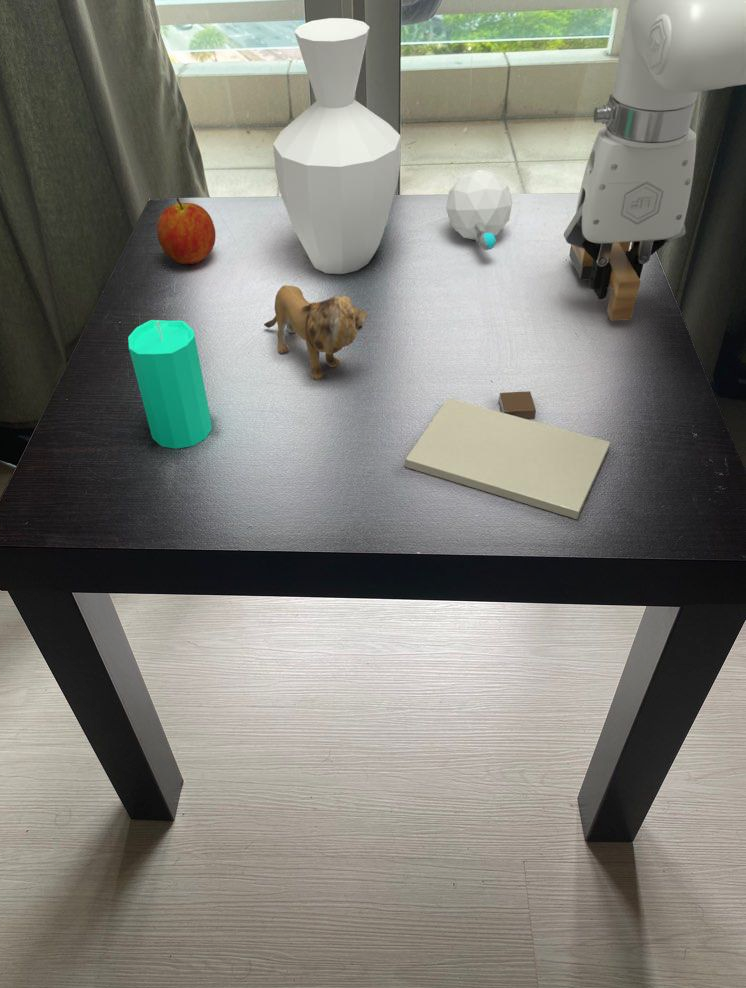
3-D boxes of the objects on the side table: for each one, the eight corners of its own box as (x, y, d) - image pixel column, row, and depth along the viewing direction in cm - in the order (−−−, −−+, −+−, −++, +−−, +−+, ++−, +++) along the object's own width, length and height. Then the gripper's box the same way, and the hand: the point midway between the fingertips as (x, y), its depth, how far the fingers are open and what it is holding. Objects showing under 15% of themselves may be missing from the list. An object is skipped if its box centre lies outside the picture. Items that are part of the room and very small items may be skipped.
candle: (206, 449, 80) (184, 340, 71) (144, 448, 80) (115, 340, 72) (217, 409, 84) (197, 302, 75) (158, 409, 85) (131, 302, 76)
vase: (318, 222, 111) (304, 3, 93) (418, 242, 106) (424, 15, 88) (263, 273, 102) (235, 43, 84) (369, 297, 97) (364, 59, 79)
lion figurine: (375, 373, 87) (374, 295, 81) (338, 396, 85) (334, 317, 78) (282, 320, 95) (274, 245, 88) (245, 340, 92) (235, 264, 86)
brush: (644, 319, 90) (654, 280, 87) (598, 322, 90) (606, 283, 87) (608, 252, 100) (616, 215, 97) (566, 255, 100) (573, 217, 97)
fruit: (225, 247, 107) (216, 185, 101) (211, 275, 102) (201, 211, 96) (172, 245, 108) (160, 183, 102) (156, 273, 103) (142, 210, 97)
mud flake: (534, 418, 81) (536, 410, 80) (503, 419, 81) (504, 411, 80) (529, 399, 83) (530, 391, 83) (498, 400, 83) (499, 392, 83)
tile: (608, 450, 78) (610, 441, 77) (577, 519, 72) (579, 511, 71) (447, 405, 83) (447, 397, 82) (404, 467, 77) (405, 458, 76)
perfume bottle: (515, 188, 107) (538, 245, 100) (460, 227, 111) (478, 284, 104) (485, 143, 102) (507, 199, 95) (428, 185, 105) (445, 242, 98)
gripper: (573, 138, 77) (546, 315, 90) (749, 127, 77) (695, 306, 90) (555, 107, 82) (532, 279, 95) (719, 97, 82) (673, 271, 95)
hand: (611, 291), depth 93 cm, fingers closed on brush
